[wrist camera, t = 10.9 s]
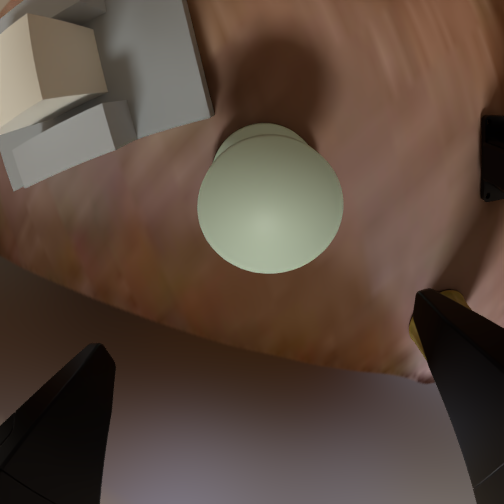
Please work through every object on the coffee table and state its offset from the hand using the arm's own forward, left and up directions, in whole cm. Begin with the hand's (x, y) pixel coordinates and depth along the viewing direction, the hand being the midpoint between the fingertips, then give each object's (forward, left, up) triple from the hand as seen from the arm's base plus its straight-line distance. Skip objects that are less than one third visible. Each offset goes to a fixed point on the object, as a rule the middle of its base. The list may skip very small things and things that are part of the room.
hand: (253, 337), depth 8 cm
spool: (-1, -1, -12) cm, 12 cm away
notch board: (+8, -10, -12) cm, 17 cm away
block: (+8, -10, -10) cm, 16 cm away
